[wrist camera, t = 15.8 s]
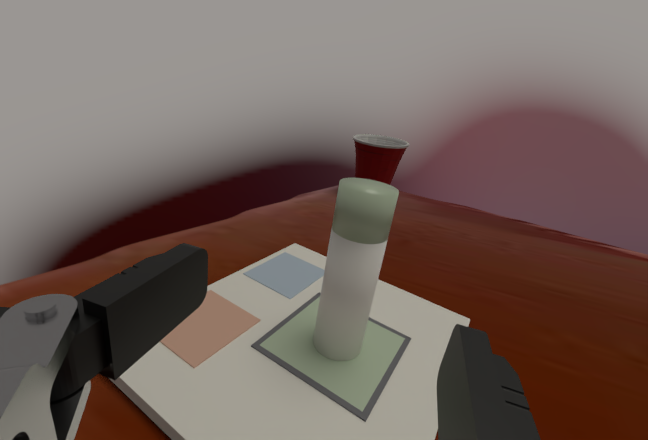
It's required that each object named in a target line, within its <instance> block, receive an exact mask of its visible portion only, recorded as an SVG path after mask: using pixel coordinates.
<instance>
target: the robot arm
mask: <svg viewBox="0 0 648 440" xmlns="http://www.w3.org/2000/svg"><path fill="white" fill-rule="evenodd" d="M207 279H208V254H207V251H206V250H205V249H202V248H199V247H195V246H192V245H189V244H185V243H183V244H180V245H178V246H176V247H174V248H173V249H171V250H169V251H167V252H165V253H163V254H159V255H156V256H152V257H149V258H146V259H144V260H142V261H140V262H139V263H137V264H135V265H133V267H129V268H127V269H125V270H124V271H122V272H121V274H119V273H118V274H116V275H114V276H112V277H110V278H109V279H107V280H105V281H103V282H101V283H99V284H97V285H95V286H94V287H92V288H90V289H88V290H86V291H84V292H82V293H80V294H79V295H77V296H75V297H72V296H69V295H64V294H49V295H42V296H38V297H34V298H31V299H28V300H25V301H23V302H20V303H18V304H16V305H14V306H13V307H11V308H7V307H0V440H74V438H75V435H76V432H77V429H78V426H79V423H80V420H81V417H82V414H83V411H84V407H85V404H86V401H87V398H88V395H89V392H90V388H91V383H90V380H91V379H92V378H93V377H94V376H96V375H97V374H98V373H99V374H101V375H103V376H106V377H108V378H110V379H113V380H116V379H117V378H118V377H120V376H121V375H122V374H123V373H124V372H125V371H126V370H128V369H129V368H130V367H131V366H132V365H133V364H134V363H136V362H137V361H138V360H139V359H140V358H141V357H142V356H144V355H145V354H146V353H147V352H148V351H149V350H151V349H152V348H153V347H154V346H155V345H156V344H157V343H159V342H160V341H161V340H162V339H163V338H164V337H165V336H167V335H168V334H169V333H170V332H171V331H172V330H173V329H175V328H176V327H177V326H178V325H179V324H180V323H181V322H183V321H184V320H185V319H186V318H187V317H188V316H189V315H191V314H192V313H193V312H194V311H195V310H196V309H197V308H199V307H200V305H201V304H202V303H203V301H204V299H205V297H206V294H207ZM437 412H438V437H439V440H540V437H539V434H538V431H537V428H536V425H535V423H534V420H533V417H532V414H531V412H529V405H528V403H527V400H526V397H525V396H524V391H523V388H522V385H521V382H520V380H519V377H518V374H517V373H516V372H515V371H514V369H513V368H512V367H511V366H510V364H509V363H508V362H507V360H506V359H505V358H504V357H501V356H498V355H495V354H492V350H491V347H490V343H489V339H488V336H487V333H486V332H484V331H480V330H477V329H473V328H470V327H466V326H463V325H460V324H456V325H455V327H454V329H453V331H452V334H451V337H450V340H449V342H448V345H447V348H446V351H445V353H444V356H443V359H442V362H441V364H440V368H439V372H438V377H437Z"/></svg>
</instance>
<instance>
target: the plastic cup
mask: <svg viewBox="0 0 648 440" xmlns="http://www.w3.org/2000/svg"><path fill="white" fill-rule="evenodd" d="M353 139H354V141H355V147H356V174H355V176H356V177H355V178H363V179H370V180H375V181H379V182H382V183H386V184H388V185H390V183H391V181H392V179H393V176H394V174H395V171H396V169H397V166H398V164H399V161H400V160H401V158H402V155H403V154H404V151H405V149H406V148H407V147H408V146H409V143H408V142H406V141H403V140H400V139H396V138H392V137H387V136H379V135H368V134H365V135H364V134H362V135H354V136H353Z"/></svg>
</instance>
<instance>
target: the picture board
mask: <svg viewBox="0 0 648 440" xmlns="http://www.w3.org/2000/svg"><path fill="white" fill-rule="evenodd" d="M326 259H327V257H325V256H323V255H321V254H319V253H316V252H314V251H312V250H309V249H307V248H305V247H302V246H300V245H298V244H293V245H291V246H289V247H286V248H284V249H282V250H280V251H278V252H276V253H274V254H272V255H270V256H268V257H266V258H264V259H262V260H260V261H258V262H256V263H254V264H252V265H250V266H248V267H246V268H244V269H242V270H240V271H237V272H235V273H233V274H231V275H229V276H227V277H225V278H223V279H221V280H219V281H217V282H215V283H213V284H211V285H209V286H207V294H206V297H205V299H204V301H203V303H202V304H201V305H200V307H199V308H197V309H196V310H195V311H194V312H193V313H192V314H191V315H189V316H188V317H187V318H186V319H185V320H184V321H183V322H181V323H180V324H179V325H178V326H177V327H176V328H175V329H173V330H172V331H171V332H170V333H169V334H168V335H167V336H165V337H164V338H163V339H162V340H161V341H160V342H159V343H157V344H156V345H155V346H154V347H153V348H152V349H151V350H149V351H148V352H147V353H146V354H145V355H144V356H142V357H141V358H140V359H139V360H138V361H137V362H136V363H134V364H133V365H132V366H131V367H130V368H129V369H128V370H126V371H125V372H124V373H123V374H122V375H121V376H120V377H118V378H117V379H116V380H113V379H110V378H109V379H110V380H111V381H112V382H113V383H114V384H115V385H116V386H117V387H118V388H119V389H120V390H121V391H122V392H123V393H124V394H126V395H127V396H128V397H129V398H130V399H131V400H132V401H133V402H134V403H135V404H136V405H137V406H138V407H139V408H140V409H141V410H142V411H143V412H144V413H145V414H146V415H147V416H148V417H149V418H150V419H151V420H152V421H153V422H154V423H155V424H156V425H157V426H158V427H159V428H160V429H161V430H162V431H163V432H164V433H165V434H166V435H168V436H169V437H170V438H171V439H172V440H435V437H436V433H437V430H438V412H437V377H438V372H439V368H440V364H441V362H442V359H443V356H444V353H445V351H446V348H447V345H448V342H449V340H450V337H451V334H452V331H453V329H454V327H455V325H456V324H460V325H463V326H466V327H468V325H469V322H470V319H468V318H466V317H464V316H461V315H459V314H457V313H454V312H452V311H450V310H448V309H445V308H443V307H441V306H438V305H436V304H434V303H431V302H429V301H427V300H425V299H422V298H420V297H418V296H415V295H413V294H411V293H408V292H406V291H404V290H401V289H399V288H397V287H395V286H392V285H390V284H388V283H385V282H383V281H381V280H378V281H377V285H376V289H375V294H374V298H373V302H372V306H371V310H370V314H369V318H368V323H367V327H366V331H365V335H364V339H363V343H362V348H361V351H360V353H359V354H358V356H356V357H355V358H353V359H351V360H348V361H336V360H332V359H329V358H327V357H325V356H323V355H322V354H321V353H319V352H318V351H317V349H316V348H315V346H314V343H313V336H314V330H315V324H316V318H317V313H318V307H319V301H320V295H321V289H322V283H323V277H324V271H325V265H326Z"/></svg>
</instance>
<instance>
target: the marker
mask: <svg viewBox="0 0 648 440" xmlns="http://www.w3.org/2000/svg"><path fill="white" fill-rule="evenodd" d="M398 194H399V191H398V190H397V189H396V188H395V187H393V186H391V185H388V184H386V183H382V182H379V181H375V180H370V179H363V178H344V179H341V180H340V182H339V188H338V194H337V200H336V206H335V212H334V218H333V224H332V230H331V235H330V241H329V247H328V253H327V259H326V265H325V271H324V277H323V283H322V289H321V295H320V301H319V307H318V313H317V318H316V324H315V330H314V336H313V343H314V346H315V348H316V349H317V351H318V352H319V353H321V354H322V355H323V356H325V357H327V358H329V359H332V360H336V361H348V360H351V359H353V358H355V357H356V356H358V354H359V353H360V351H361V348H362V343H363V339H364V335H365V331H366V327H367V323H368V318H369V314H370V310H371V306H372V302H373V298H374V294H375V289H376V285H377V281H378V277H379V273H380V269H381V265H382V260H383V256H384V252H385V248H386V244H387V240H388V235H389V231H390V227H391V223H392V219H393V215H394V211H395V206H396V202H397V198H398Z"/></svg>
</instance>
